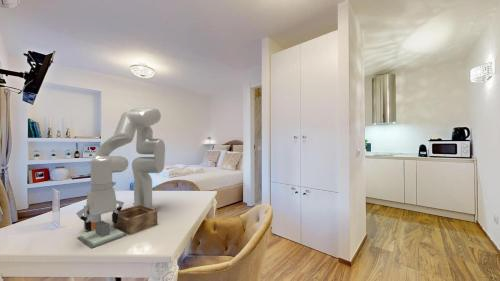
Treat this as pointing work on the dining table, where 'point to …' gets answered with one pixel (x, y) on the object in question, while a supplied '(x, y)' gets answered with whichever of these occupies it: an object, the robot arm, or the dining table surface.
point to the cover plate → (101, 239)
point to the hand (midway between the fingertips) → (102, 226)
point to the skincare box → (92, 220)
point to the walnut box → (136, 219)
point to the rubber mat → (98, 244)
